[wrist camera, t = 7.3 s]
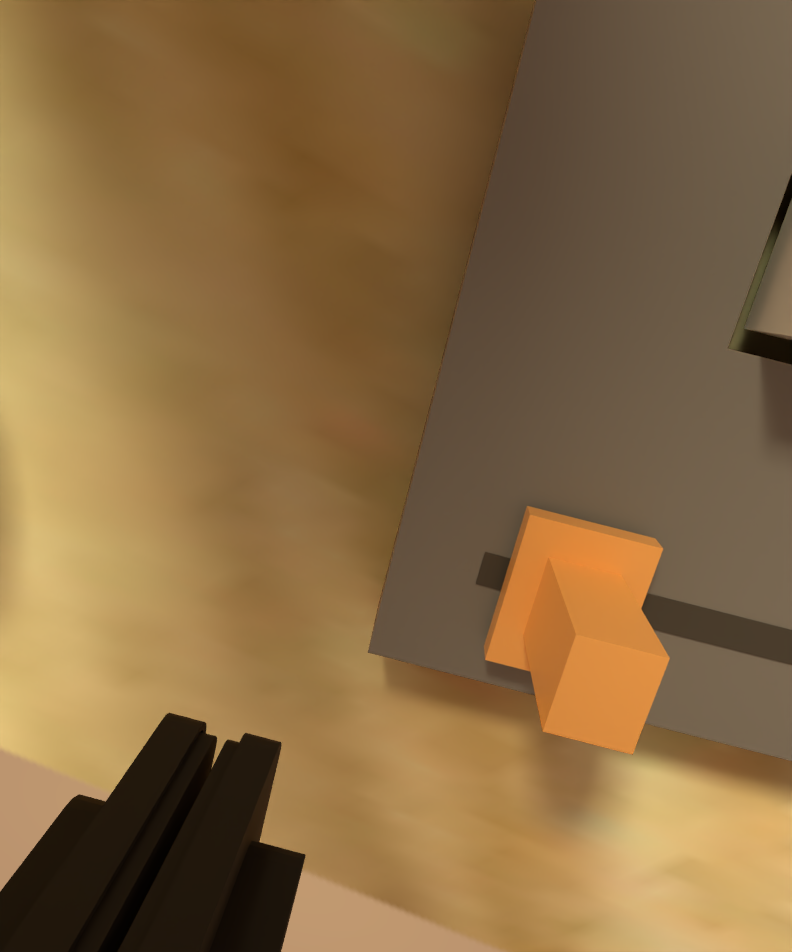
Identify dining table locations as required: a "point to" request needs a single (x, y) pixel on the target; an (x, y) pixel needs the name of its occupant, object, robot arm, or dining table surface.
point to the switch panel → (621, 356)
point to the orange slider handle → (581, 627)
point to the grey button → (775, 289)
